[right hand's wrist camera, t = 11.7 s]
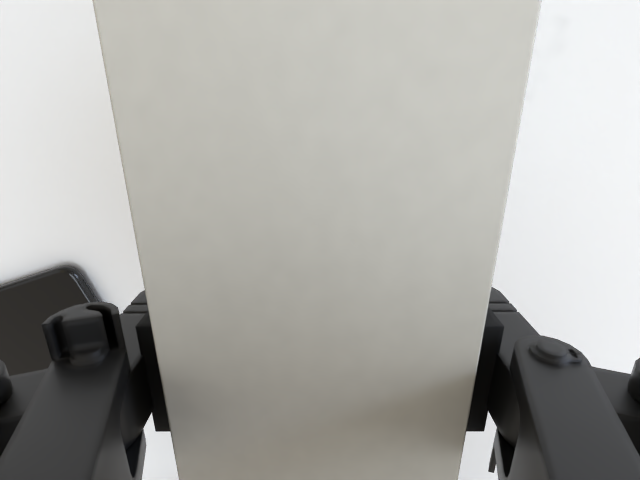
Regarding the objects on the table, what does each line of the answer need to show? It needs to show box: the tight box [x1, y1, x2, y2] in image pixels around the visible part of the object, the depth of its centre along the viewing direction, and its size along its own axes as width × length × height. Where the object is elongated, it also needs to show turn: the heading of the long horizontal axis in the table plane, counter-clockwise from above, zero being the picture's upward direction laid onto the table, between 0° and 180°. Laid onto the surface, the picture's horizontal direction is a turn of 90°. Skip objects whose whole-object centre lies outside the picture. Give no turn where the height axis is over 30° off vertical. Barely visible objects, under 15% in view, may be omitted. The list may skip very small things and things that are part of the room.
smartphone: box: [0, 266, 99, 376], centre depth 28 cm, size 8×1×16 cm
